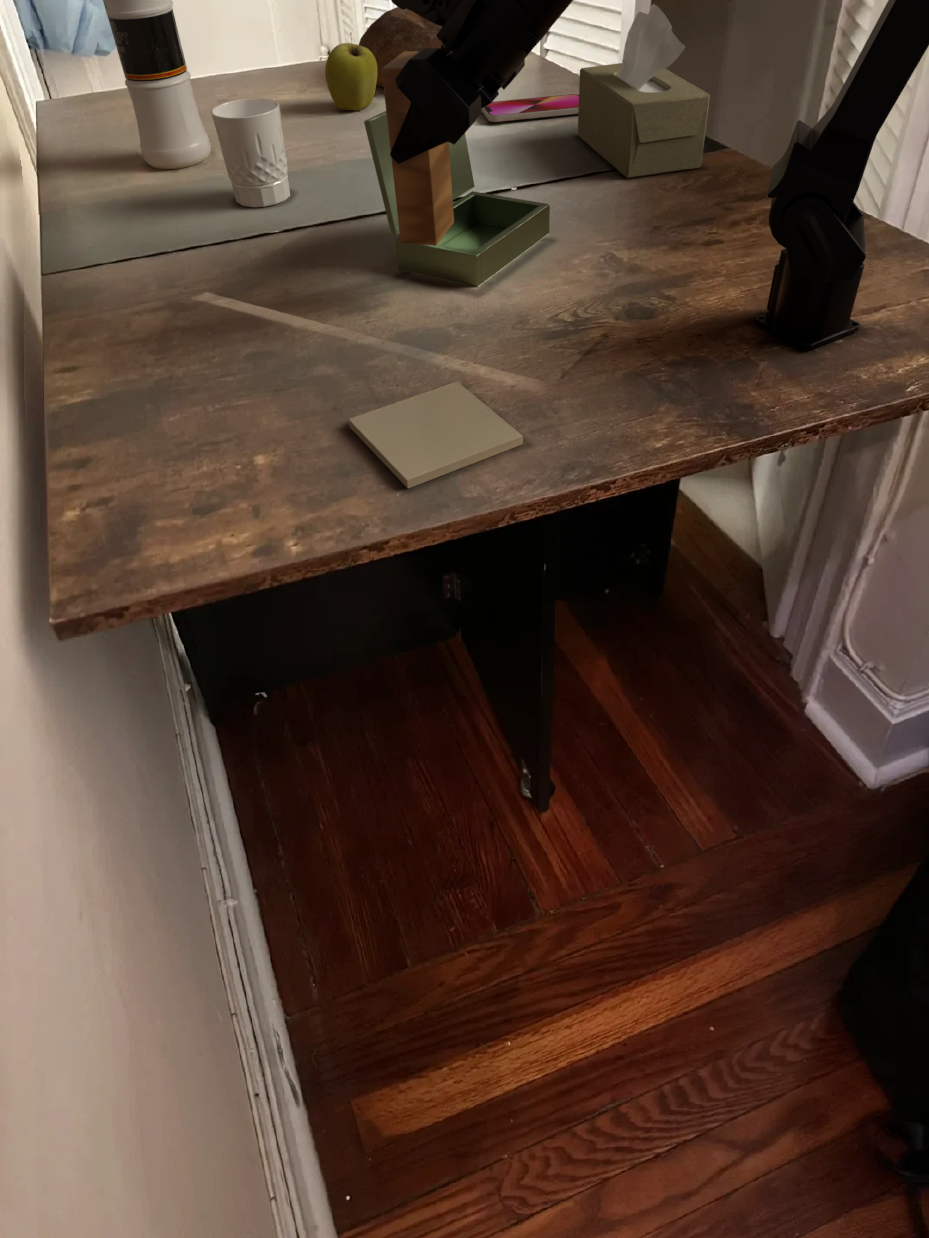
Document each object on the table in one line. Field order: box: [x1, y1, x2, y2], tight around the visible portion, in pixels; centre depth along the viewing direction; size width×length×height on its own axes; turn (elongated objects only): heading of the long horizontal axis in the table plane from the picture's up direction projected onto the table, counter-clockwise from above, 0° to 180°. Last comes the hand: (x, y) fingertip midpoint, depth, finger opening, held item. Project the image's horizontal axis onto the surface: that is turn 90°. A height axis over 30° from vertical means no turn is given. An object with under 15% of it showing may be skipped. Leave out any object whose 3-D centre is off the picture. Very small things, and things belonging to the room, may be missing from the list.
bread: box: [358, 6, 443, 88], centre depth 143 cm, size 26×27×10 cm
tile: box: [348, 380, 524, 489], centre depth 68 cm, size 10×10×1 cm
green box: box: [394, 190, 551, 288], centre depth 91 cm, size 10×15×4 cm, turn 147°
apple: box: [324, 32, 377, 111], centre depth 132 cm, size 8×8×10 cm
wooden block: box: [382, 51, 454, 246], centre depth 77 cm, size 4×6×14 cm, turn 163°
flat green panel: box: [363, 110, 476, 236], centre depth 88 cm, size 10×15×1 cm
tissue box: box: [577, 3, 711, 180], centre depth 108 cm, size 19×10×16 cm, turn 14°
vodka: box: [102, 0, 212, 170], centre depth 111 cm, size 9×9×30 cm
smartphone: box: [481, 93, 579, 123], centre depth 127 cm, size 7×1×15 cm
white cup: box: [210, 97, 291, 208], centre depth 105 cm, size 8×8×10 cm
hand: (405, 148), depth 77 cm, fingers closed on wooden block, 5 cm apart
